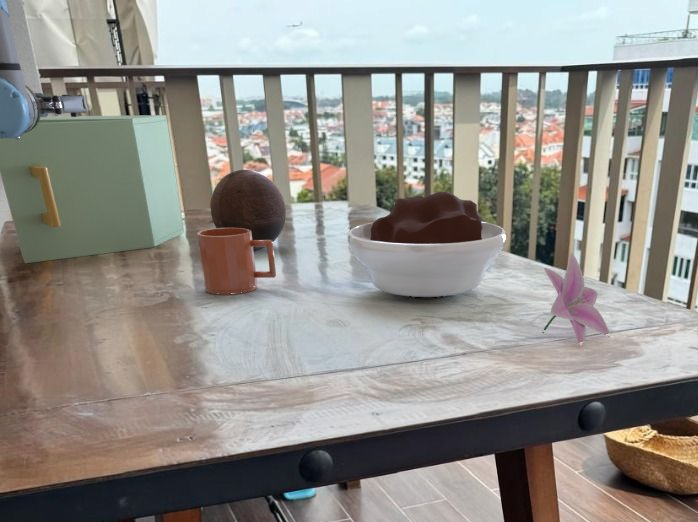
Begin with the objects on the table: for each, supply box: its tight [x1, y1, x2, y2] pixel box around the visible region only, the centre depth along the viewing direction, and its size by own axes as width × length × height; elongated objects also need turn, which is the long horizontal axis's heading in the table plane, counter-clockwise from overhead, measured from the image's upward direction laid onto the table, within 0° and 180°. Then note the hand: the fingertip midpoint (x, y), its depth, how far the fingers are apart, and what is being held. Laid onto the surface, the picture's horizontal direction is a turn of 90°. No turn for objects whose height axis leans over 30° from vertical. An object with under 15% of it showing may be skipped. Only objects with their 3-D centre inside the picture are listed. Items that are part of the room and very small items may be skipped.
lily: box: [542, 252, 611, 349], centre depth 99 cm, size 12×12×10 cm
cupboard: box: [38, 114, 185, 248], centre depth 163 cm, size 18×26×24 cm
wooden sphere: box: [210, 169, 287, 251], centre depth 153 cm, size 15×15×15 cm
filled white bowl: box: [347, 191, 507, 299], centre depth 119 cm, size 25×25×15 cm
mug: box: [196, 227, 277, 296], centre depth 125 cm, size 12×9×9 cm
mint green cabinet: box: [0, 120, 155, 264], centre depth 145 cm, size 7×26×24 cm, turn 127°
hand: (27, 104), depth 133 cm, fingers open, 13 cm apart
